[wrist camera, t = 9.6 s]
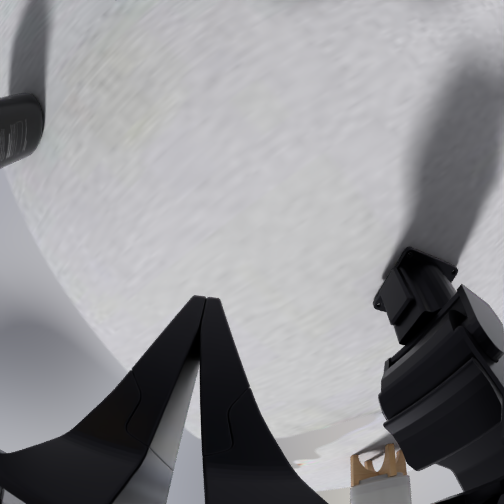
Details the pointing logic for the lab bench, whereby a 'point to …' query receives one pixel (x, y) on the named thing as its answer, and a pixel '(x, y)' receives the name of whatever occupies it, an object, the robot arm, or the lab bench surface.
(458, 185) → the lab bench surface
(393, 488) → the planter
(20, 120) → the supplement bottle
